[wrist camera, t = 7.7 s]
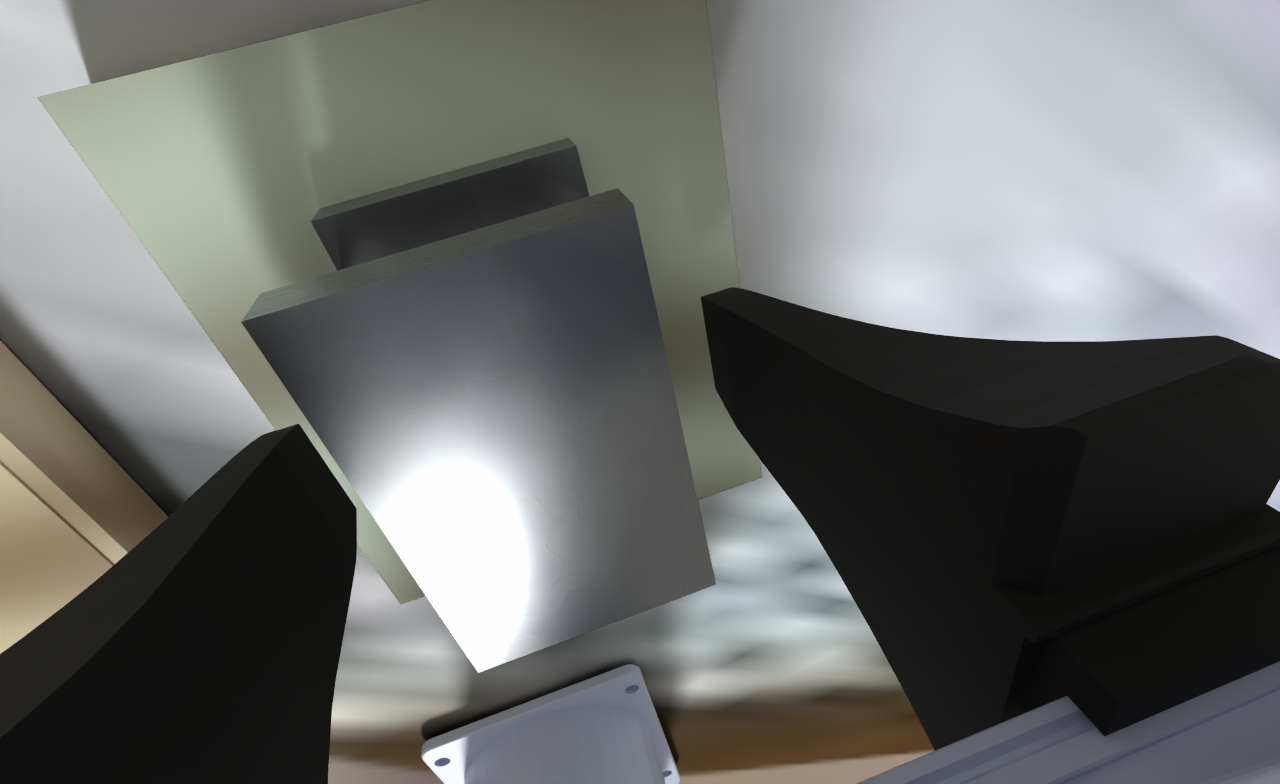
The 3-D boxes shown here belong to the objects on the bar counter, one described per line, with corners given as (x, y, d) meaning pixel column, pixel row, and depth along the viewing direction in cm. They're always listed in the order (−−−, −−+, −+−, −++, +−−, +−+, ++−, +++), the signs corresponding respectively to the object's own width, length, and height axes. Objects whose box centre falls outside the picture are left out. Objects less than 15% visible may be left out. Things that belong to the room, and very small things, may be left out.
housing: (647, 437, 14) (716, 584, 11) (471, 497, 14) (478, 672, 10) (568, 137, 10) (633, 204, 7) (319, 208, 10) (240, 322, 6)
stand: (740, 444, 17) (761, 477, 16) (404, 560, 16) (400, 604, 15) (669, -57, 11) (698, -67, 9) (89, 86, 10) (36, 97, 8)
